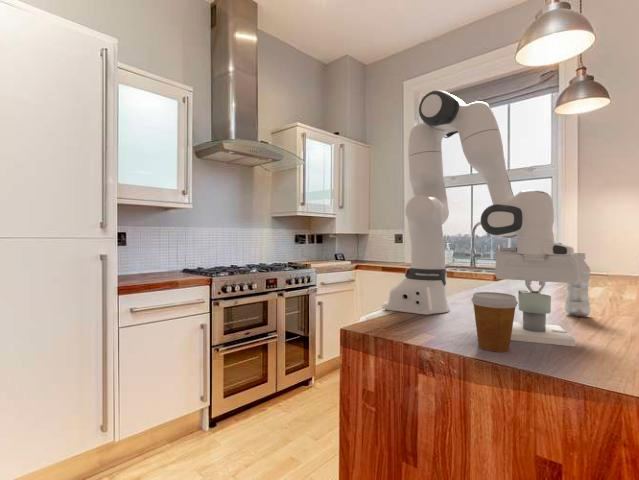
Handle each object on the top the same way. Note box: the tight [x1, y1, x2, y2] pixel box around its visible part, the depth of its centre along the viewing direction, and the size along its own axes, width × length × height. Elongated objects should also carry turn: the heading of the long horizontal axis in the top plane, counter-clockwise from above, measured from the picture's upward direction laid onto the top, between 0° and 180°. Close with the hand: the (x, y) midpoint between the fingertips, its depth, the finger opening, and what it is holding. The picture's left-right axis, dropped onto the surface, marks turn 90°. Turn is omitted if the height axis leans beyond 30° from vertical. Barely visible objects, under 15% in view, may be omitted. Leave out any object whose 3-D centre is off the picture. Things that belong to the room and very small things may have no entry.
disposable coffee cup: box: [470, 291, 519, 353], centre depth 80 cm, size 10×10×12 cm
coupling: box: [518, 289, 552, 315], centre depth 94 cm, size 17×7×4 cm, turn 161°
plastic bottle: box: [564, 252, 592, 318], centre depth 111 cm, size 6×7×20 cm
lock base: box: [510, 311, 576, 347], centre depth 90 cm, size 14×14×6 cm
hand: (535, 297), depth 98 cm, fingers closed
